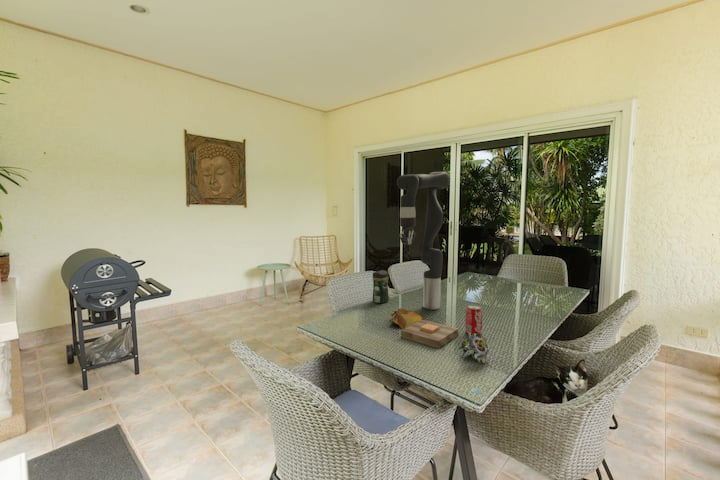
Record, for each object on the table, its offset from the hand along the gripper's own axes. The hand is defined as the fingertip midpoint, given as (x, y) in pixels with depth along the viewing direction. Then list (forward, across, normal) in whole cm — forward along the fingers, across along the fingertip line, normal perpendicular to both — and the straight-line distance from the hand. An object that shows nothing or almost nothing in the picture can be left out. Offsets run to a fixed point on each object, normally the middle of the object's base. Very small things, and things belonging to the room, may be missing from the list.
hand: (407, 251), depth 166 cm
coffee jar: (+35, -17, -30) cm, 49 cm away
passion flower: (+34, +21, +42) cm, 58 cm away
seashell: (+35, +6, +2) cm, 35 cm away
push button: (+33, +12, +19) cm, 40 cm away
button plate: (+34, +12, +19) cm, 41 cm away
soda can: (+35, -4, +32) cm, 47 cm away
